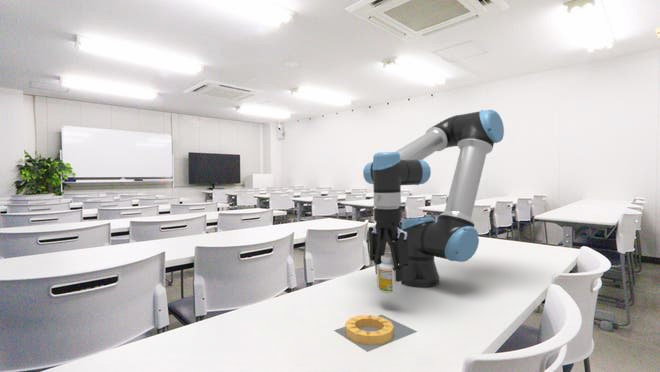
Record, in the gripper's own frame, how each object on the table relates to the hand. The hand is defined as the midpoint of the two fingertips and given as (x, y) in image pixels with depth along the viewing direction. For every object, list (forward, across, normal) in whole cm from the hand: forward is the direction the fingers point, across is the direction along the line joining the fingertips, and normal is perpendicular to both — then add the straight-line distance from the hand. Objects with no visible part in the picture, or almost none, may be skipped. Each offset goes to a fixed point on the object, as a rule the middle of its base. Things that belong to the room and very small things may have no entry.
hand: (388, 289), depth 92 cm
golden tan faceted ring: (+5, +8, -15) cm, 18 cm away
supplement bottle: (+1, 0, 0) cm, 1 cm away
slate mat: (+6, +8, -13) cm, 16 cm away
